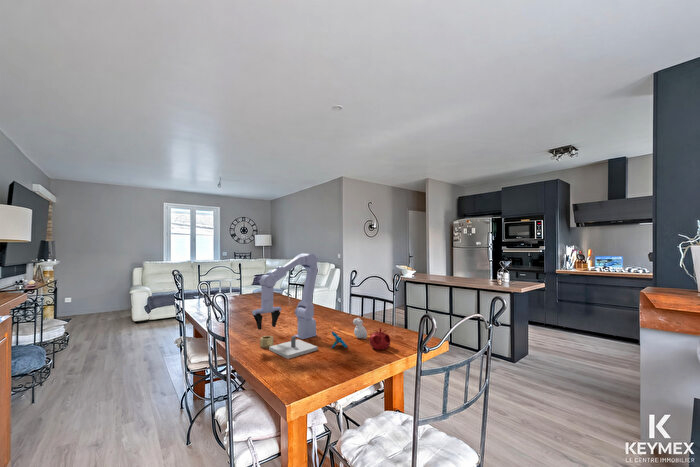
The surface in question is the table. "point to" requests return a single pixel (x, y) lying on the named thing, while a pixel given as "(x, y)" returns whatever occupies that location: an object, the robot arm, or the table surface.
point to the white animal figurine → (359, 329)
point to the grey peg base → (293, 348)
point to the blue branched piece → (338, 340)
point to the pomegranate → (379, 340)
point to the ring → (266, 341)
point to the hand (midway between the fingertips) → (266, 327)
